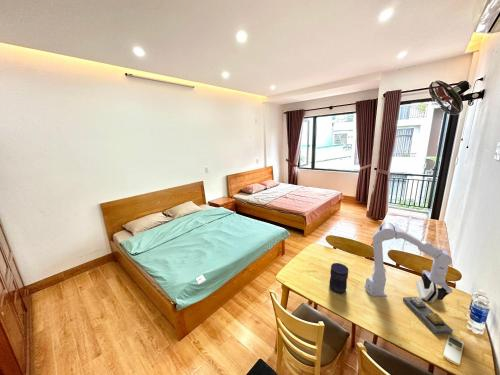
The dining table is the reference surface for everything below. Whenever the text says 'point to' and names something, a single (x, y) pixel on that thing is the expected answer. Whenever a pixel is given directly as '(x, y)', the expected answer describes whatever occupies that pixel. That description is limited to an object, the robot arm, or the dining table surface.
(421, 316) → the grey recessed tray
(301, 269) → the dining table surface
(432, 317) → the brass nut
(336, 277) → the storage jar
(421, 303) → the zinc nut
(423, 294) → the white black rounded piece
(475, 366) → the dining table surface
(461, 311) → the dining table surface
